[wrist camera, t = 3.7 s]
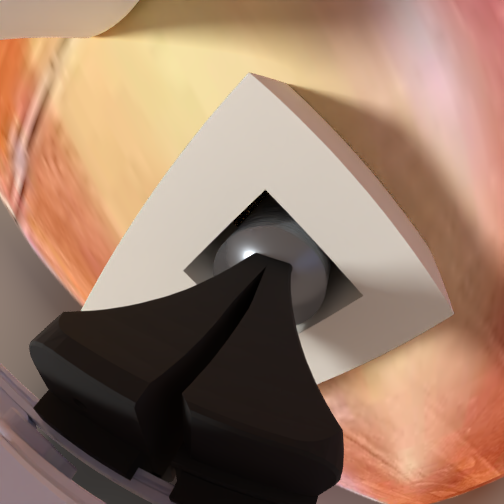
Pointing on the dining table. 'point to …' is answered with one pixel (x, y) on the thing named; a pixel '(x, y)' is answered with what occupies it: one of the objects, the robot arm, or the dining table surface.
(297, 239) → the peg
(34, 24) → the beverage can
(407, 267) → the bore block
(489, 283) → the dining table surface
